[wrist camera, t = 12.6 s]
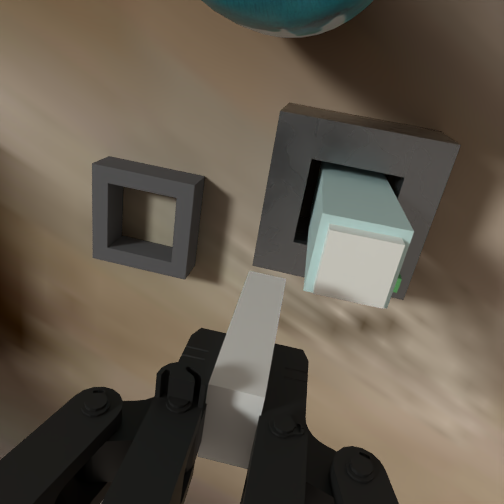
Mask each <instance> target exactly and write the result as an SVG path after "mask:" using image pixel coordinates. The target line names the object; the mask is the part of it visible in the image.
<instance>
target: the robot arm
mask: <svg viewBox="0 0 504 504" xmlns="http://www.w3.org/2000/svg"><path fill="white" fill-rule="evenodd" d="M285 283H286V279H285V278H280V277H276V276H271V275H267V274H262V273H257V272H253V271H249V273H248V275H247V278H246V281H245V284H244V287H243V289H242V292H241V295H240V298H239V300H238V303H237V306H236V309H235V311H234V314H233V317H232V320H231V323H230V325H229V328H228V331H227V334H226V333H222V332H217V331H213V330H209V329H204V328H201V329H199V330H198V331H196V332H195V333H194V334H192V335H191V337H190V339H189V341H188V343H187V345H186V347H185V349H184V351H183V353H182V356H181V357H180V359H179V362H176V363H170V364H168V365H166V366H164V367H162V368H161V369H160V370H159V371H158V373H157V377H156V390H155V397H153V398H150V399H146V400H140V401H122V399H121V396H120V394H118V393H117V392H116V391H114V390H113V389H110V388H106V387H93V388H89V389H86V390H83V391H82V392H80V393H78V394H77V395H75V396H74V397H73V398H72V399H71V400H70V401H68V402H67V403H66V404H65V405H64V406H63V407H61V408H60V409H59V410H58V411H57V412H56V413H54V414H53V415H52V416H51V417H50V418H49V419H48V420H46V421H45V422H44V423H43V424H42V425H41V426H39V427H38V428H37V429H36V430H35V431H34V432H32V433H31V434H30V435H29V436H28V437H27V438H25V439H24V440H23V441H22V442H21V443H20V444H19V445H17V446H16V447H15V448H14V449H13V450H12V451H10V452H9V453H8V454H7V455H6V456H5V457H3V458H2V459H1V460H0V504H100V503H101V502H102V500H103V499H104V500H103V502H102V504H184V501H185V498H186V495H187V491H188V488H189V485H190V482H191V479H192V476H193V470H194V463H195V459H196V456H197V453H198V457H202V458H206V459H210V460H214V461H218V462H222V463H226V464H230V465H233V466H237V467H241V468H245V469H248V471H247V476H246V480H245V485H244V489H243V493H242V498H241V502H240V504H399V503H398V500H397V498H396V495H395V493H394V490H393V488H392V485H391V483H390V480H389V478H388V475H387V473H386V470H385V469H384V467H383V465H382V464H381V462H380V461H379V460H378V459H377V458H376V457H375V456H374V455H373V454H372V453H370V452H368V451H366V450H364V449H363V448H358V447H354V446H350V447H343V448H342V449H340V450H339V451H335V450H333V449H331V448H329V447H327V446H326V445H324V444H322V443H321V442H319V441H318V440H317V439H316V438H315V437H314V436H313V435H312V434H311V432H310V431H309V429H308V427H307V424H306V418H305V416H306V397H307V379H308V375H307V374H308V359H307V357H306V355H305V353H304V351H303V350H301V349H297V348H292V347H288V346H283V345H279V344H275V339H276V333H277V328H278V322H279V316H280V311H281V305H282V300H283V294H284V288H285Z"/></svg>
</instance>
